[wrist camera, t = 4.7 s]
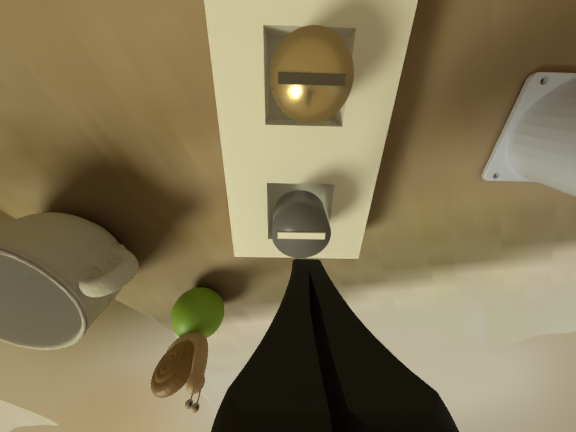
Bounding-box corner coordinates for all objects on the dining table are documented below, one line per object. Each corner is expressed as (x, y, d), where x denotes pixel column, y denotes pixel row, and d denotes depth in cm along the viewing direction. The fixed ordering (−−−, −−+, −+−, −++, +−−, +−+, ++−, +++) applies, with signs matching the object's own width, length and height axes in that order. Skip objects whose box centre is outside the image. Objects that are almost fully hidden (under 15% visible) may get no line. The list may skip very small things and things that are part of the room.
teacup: (62, 281, 26) (-19, 351, 19) (3, 196, 21) (-138, 251, 14) (182, 280, 26) (144, 350, 19) (154, 195, 21) (88, 249, 14)
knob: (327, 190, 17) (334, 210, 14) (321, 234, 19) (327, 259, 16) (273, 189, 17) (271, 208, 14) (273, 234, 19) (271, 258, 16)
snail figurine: (244, 295, 27) (218, 423, 17) (204, 313, 29) (158, 439, 19) (215, 267, 25) (165, 394, 15) (173, 288, 27) (101, 416, 16)
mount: (447, -277, 10) (520, -441, 7) (348, 236, 23) (358, 258, 20) (192, -292, 10) (148, -466, 7) (241, 234, 23) (234, 256, 20)
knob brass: (345, 39, 12) (361, 25, 10) (335, 118, 14) (347, 125, 12) (272, 36, 12) (268, 22, 10) (273, 116, 14) (269, 123, 12)
